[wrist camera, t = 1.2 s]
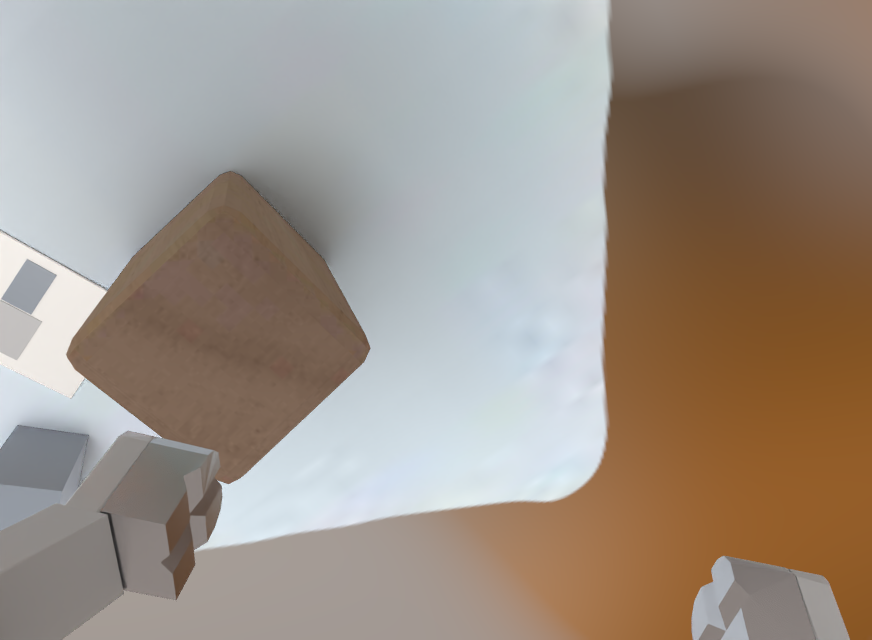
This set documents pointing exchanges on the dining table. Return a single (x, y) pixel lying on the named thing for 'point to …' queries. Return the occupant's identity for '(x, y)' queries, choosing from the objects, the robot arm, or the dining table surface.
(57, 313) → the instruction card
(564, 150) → the dining table surface
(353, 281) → the dining table surface
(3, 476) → the brick
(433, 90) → the dining table surface
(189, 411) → the block
